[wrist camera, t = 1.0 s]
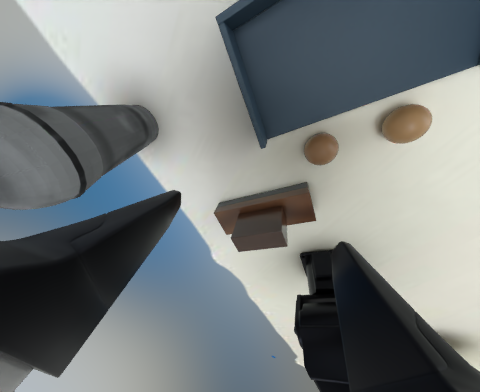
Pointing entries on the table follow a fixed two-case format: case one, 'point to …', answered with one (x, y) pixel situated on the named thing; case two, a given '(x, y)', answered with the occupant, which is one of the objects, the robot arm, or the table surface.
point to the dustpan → (341, 53)
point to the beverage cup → (65, 149)
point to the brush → (265, 217)
